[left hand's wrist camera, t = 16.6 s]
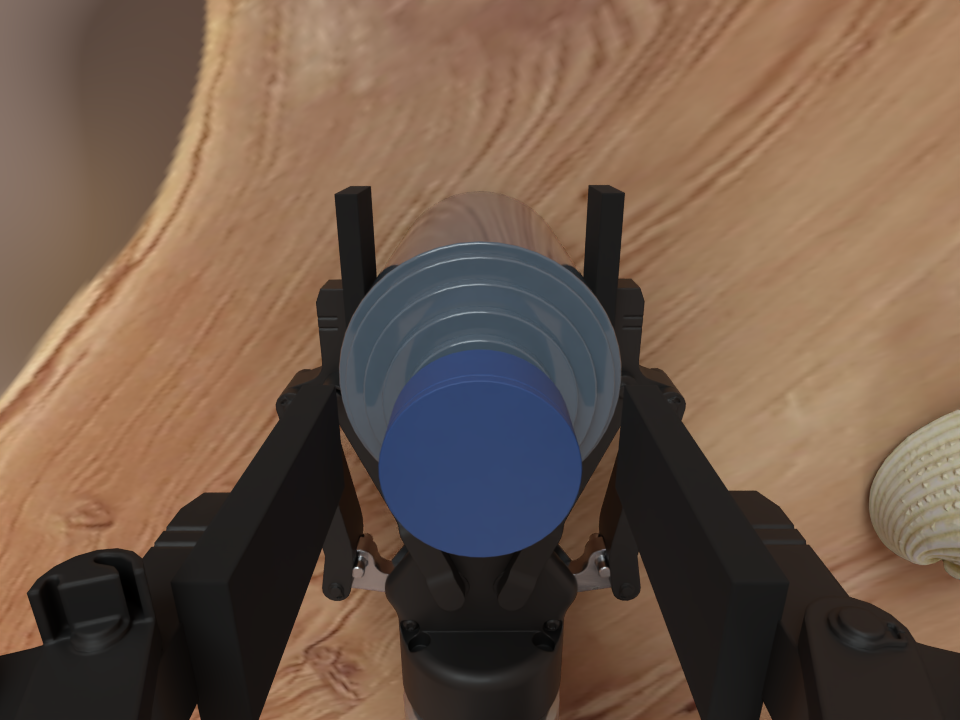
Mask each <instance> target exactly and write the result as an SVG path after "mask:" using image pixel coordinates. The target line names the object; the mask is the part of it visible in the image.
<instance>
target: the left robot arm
mask: <svg viewBox="0 0 960 720" xmlns="http://www.w3.org/2000/svg"><path fill="white" fill-rule="evenodd" d="M344 488H345V483H344V472H343V461H342V450H341V439H340V428H339V417H338V406H337V395H336V385H302V387H301V388H300V390H299V391H298V393H297V394H296V396H295V397H294V399H293V400H292V402H291V403H290V405H289V406H288V408H287V409H286V411H285V412H284V414H283V415H282V417H281V418H280V420H279V421H278V423H277V424H276V426H275V427H274V429H273V430H272V432H271V433H270V435H269V436H268V437H267V439H266V440H265V442H264V443H263V445H262V446H261V448H260V449H259V451H258V452H257V454H256V455H255V457H254V458H253V460H252V461H251V463H250V464H249V466H248V467H247V469H246V470H245V472H244V473H243V475H242V476H241V478H240V479H239V481H238V482H237V484H236V485H235V487H234V488H233V490H232V491H231V493H203V494H202V495H200V496H199V497H197V498H196V499H194V500H193V501H191V502H190V503H188V504H187V505H185V506H184V507H183V508H181V509H180V510H179V512H178V513H177V514H176V516H175V517H174V518H173V520H172V521H171V522H170V523H169V525H168V526H167V527H166V528H167V529H166V531H163V532H162V534H161V535H160V536H159V538H158V539H157V540H156V542H155V545H154V547H151V548H150V549H149V551H148V552H147V553H146V554H145V556H144V557H143V558H141V557H140V556H138V555H137V554H136V553H135V552H133V551H129V550H124V549H119V548H115V549H103V550H96V551H92V552H89V553H85V554H82V555H78V556H75V557H73V558H71V559H69V560H67V561H65V562H63V563H61V564H59V565H56V566H54V567H53V568H52V569H50V570H49V571H48V572H46V573H45V574H44V575H42V576H41V577H40V578H38V579H37V580H36V582H35V583H34V584H33V586H32V587H31V588H30V590H29V591H28V592H27V595H28V598H29V601H30V604H31V607H32V611H33V614H34V617H35V620H36V623H37V626H38V629H39V632H40V635H41V638H42V641H43V645H42V646H38V647H35V648H32V649H27V650H23V651H19V652H14V653H10V654H6V655H2V656H0V720H189V719H190V717H191V715H192V713H193V711H194V709H195V707H196V705H198V709H199V714H200V718H201V720H259V717H260V715H261V712H262V709H263V707H264V704H265V701H266V699H267V696H268V693H269V690H270V688H271V685H272V682H273V680H274V677H275V674H276V672H277V669H278V666H279V663H280V661H281V658H282V655H283V653H284V650H285V647H286V644H287V642H288V639H289V636H290V634H291V631H292V628H293V626H294V623H295V620H296V617H297V615H298V612H299V609H300V607H301V604H302V601H303V599H304V596H305V593H306V590H307V588H308V585H309V582H310V580H311V577H312V574H313V571H314V569H315V566H316V563H317V561H318V558H319V555H320V553H321V550H322V547H323V544H324V542H325V539H326V536H327V534H328V531H329V528H330V526H331V523H332V520H333V517H334V515H335V512H336V509H337V507H338V504H339V501H340V498H341V496H342V493H343V490H344ZM615 488H616V490H617V493H618V496H619V498H620V501H621V504H622V507H623V509H624V512H625V515H626V517H627V520H628V523H629V526H630V528H631V531H632V534H633V536H634V539H635V542H636V544H637V547H638V550H639V553H640V555H641V558H642V561H643V563H644V566H645V569H646V571H647V574H648V577H649V580H650V582H651V585H652V588H653V590H654V593H655V596H656V599H657V601H658V604H659V607H660V609H661V612H662V615H663V617H664V620H665V623H666V626H667V628H668V631H669V634H670V636H671V639H672V642H673V644H674V647H675V650H676V653H677V655H678V658H679V661H680V663H681V666H682V669H683V672H684V674H685V677H686V680H687V682H688V685H689V688H690V690H691V693H692V696H693V699H694V701H695V704H696V707H697V709H698V712H699V715H700V717H701V720H759V718H760V714H761V709H762V705H763V702H764V704H765V706H766V708H767V710H768V712H769V714H770V716H771V718H772V720H960V653H957V652H952V651H948V650H944V649H939V648H935V647H931V646H927V645H924V644H920V643H917V642H916V641H915V640H914V638H913V637H912V635H911V634H910V632H909V630H908V629H907V628H906V627H905V626H904V625H903V624H901V623H900V622H899V621H898V620H897V619H896V618H894V617H893V616H892V615H891V614H889V613H887V612H885V611H884V610H882V609H880V608H878V607H876V606H874V605H872V604H870V603H867V602H864V601H861V600H858V599H855V598H852V597H849V595H848V594H847V593H846V592H845V590H844V589H843V588H842V586H841V585H840V584H839V583H838V581H837V580H836V579H835V577H834V576H833V575H832V574H831V572H830V571H829V570H828V568H827V567H826V566H825V565H824V563H823V562H822V561H821V559H820V558H819V557H818V556H817V554H816V553H815V552H814V550H813V549H812V548H811V547H810V545H806V540H805V539H804V538H803V536H802V535H801V534H800V532H799V531H798V530H797V529H794V525H793V523H792V522H791V521H790V520H789V518H788V517H787V516H786V514H785V513H784V512H783V511H782V509H781V508H780V507H779V506H778V505H776V504H775V503H773V502H772V501H770V500H769V499H767V498H766V497H765V496H763V495H762V494H760V493H759V492H757V491H728V490H727V488H726V487H725V485H724V484H723V482H722V481H721V479H720V478H719V476H718V475H717V473H716V472H715V470H714V469H713V467H712V466H711V464H710V463H709V461H708V460H707V458H706V457H705V455H704V454H703V452H702V451H701V449H700V448H699V446H698V445H697V443H696V442H695V440H694V439H693V437H692V436H691V435H690V433H689V432H688V430H687V429H686V427H685V426H684V424H683V423H682V421H681V420H680V418H679V417H678V415H677V414H676V412H675V411H674V409H673V408H672V406H671V405H670V403H669V402H668V400H667V399H666V397H665V396H664V394H663V393H662V391H661V390H660V388H659V387H658V385H624V395H623V406H622V417H621V428H620V439H619V450H618V461H617V472H616V483H615Z"/></svg>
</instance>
